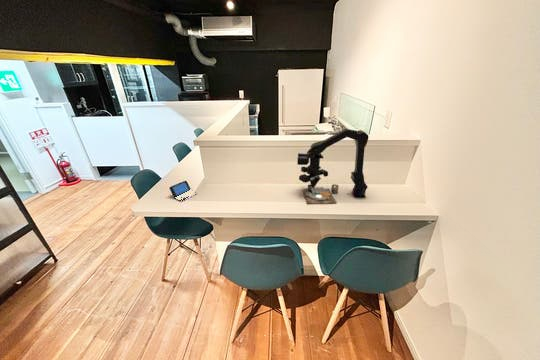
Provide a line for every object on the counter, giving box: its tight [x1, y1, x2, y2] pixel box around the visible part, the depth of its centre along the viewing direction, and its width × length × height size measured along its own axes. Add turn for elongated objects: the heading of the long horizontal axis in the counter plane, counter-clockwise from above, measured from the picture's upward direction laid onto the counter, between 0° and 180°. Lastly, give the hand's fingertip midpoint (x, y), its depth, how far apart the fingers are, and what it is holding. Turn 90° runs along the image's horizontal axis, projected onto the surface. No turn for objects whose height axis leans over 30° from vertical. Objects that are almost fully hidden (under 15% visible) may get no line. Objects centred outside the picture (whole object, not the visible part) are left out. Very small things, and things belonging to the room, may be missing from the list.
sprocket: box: [306, 183, 333, 201], centre depth 129 cm, size 16×15×6 cm
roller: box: [330, 183, 339, 195], centre depth 134 cm, size 4×4×5 cm
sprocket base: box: [302, 188, 337, 205], centre depth 131 cm, size 17×17×1 cm
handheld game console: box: [168, 180, 192, 202], centre depth 134 cm, size 12×11×7 cm
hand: (312, 187), depth 133 cm, fingers closed
